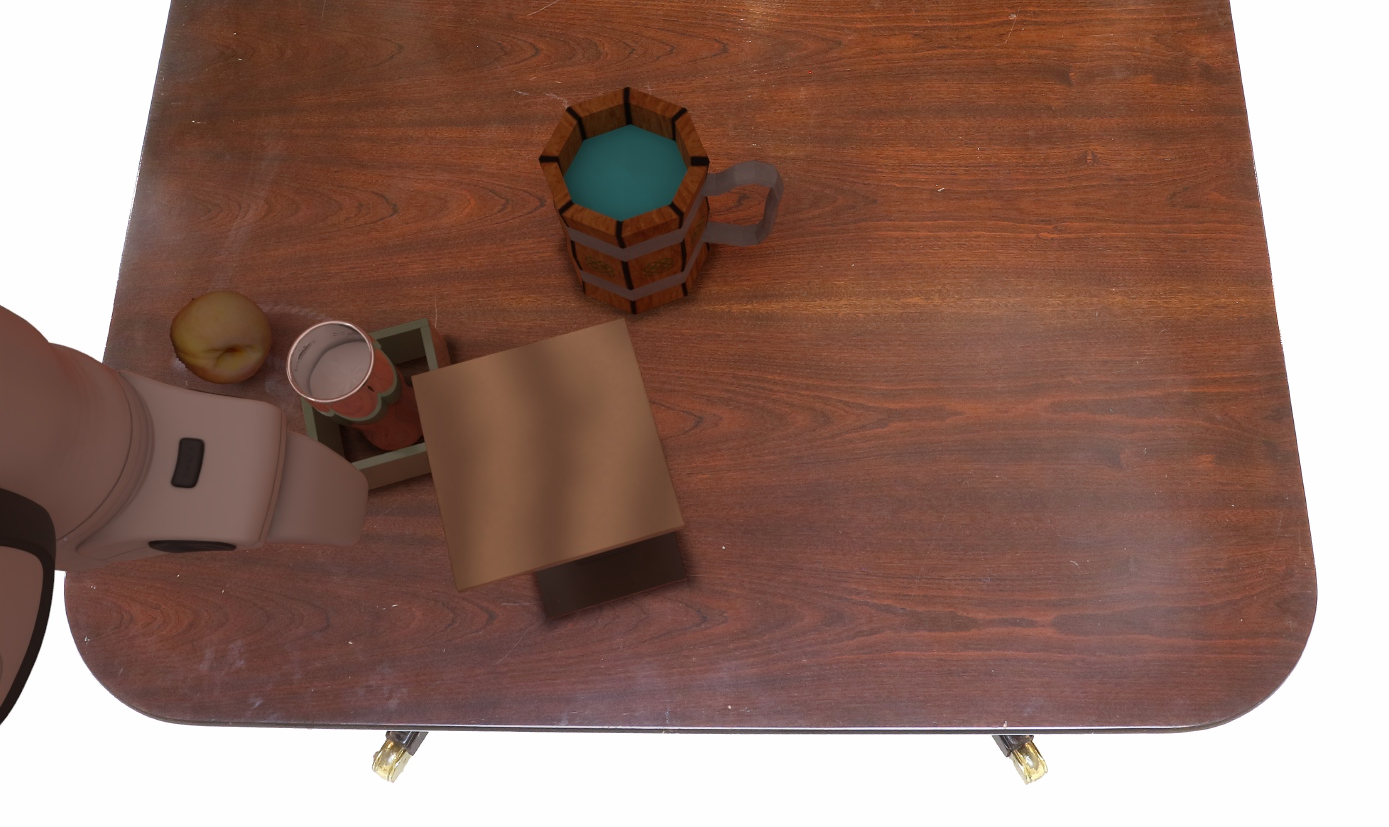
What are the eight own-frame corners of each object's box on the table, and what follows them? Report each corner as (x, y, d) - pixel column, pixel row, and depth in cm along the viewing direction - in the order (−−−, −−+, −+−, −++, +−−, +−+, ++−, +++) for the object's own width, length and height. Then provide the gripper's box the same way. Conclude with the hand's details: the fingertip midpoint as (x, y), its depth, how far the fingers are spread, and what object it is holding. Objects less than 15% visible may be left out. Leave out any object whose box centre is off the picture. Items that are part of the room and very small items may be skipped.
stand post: (549, 619, 78) (467, 582, 52) (516, 484, 81) (425, 386, 55) (687, 579, 79) (674, 522, 53) (649, 447, 82) (620, 332, 56)
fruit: (207, 403, 84) (156, 374, 76) (203, 319, 86) (153, 283, 79) (291, 387, 84) (249, 356, 77) (285, 304, 87) (243, 266, 79)
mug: (561, 313, 86) (531, 236, 72) (570, 183, 90) (544, 85, 75) (775, 317, 85) (788, 240, 71) (775, 186, 89) (787, 88, 75)
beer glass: (350, 393, 84) (275, 332, 70) (425, 371, 84) (366, 305, 70) (365, 465, 82) (291, 417, 68) (442, 442, 83) (385, 389, 68)
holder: (343, 497, 81) (315, 482, 76) (321, 376, 85) (292, 353, 79) (473, 460, 82) (455, 442, 76) (446, 342, 85) (427, 316, 80)
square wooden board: (461, 593, 52) (456, 591, 51) (415, 381, 56) (410, 375, 55) (685, 528, 53) (685, 525, 52) (626, 323, 56) (624, 316, 55)
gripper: (-187, 529, 40) (35, 574, 53) (286, 544, 39) (392, 586, 53) (-142, 389, 42) (62, 466, 55) (310, 403, 41) (406, 477, 54)
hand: (226, 525), depth 54 cm, fingers open, 8 cm apart
